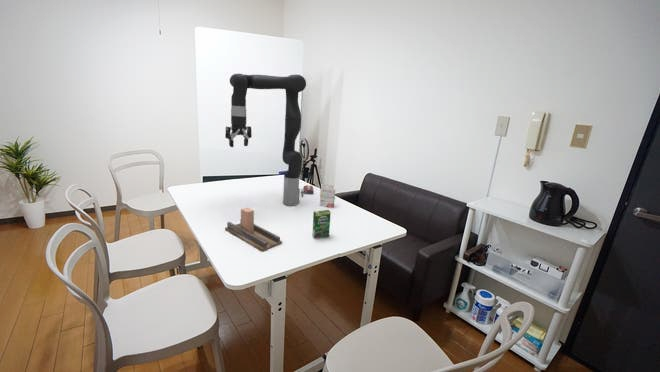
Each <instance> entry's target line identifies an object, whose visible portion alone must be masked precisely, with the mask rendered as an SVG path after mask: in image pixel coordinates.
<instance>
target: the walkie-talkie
mask: <svg viewBox="0 0 660 372" xmlns="http://www.w3.org/2000/svg"><path fill="white" fill-rule="evenodd" d="M300 194H301V197H304V195H313V194H314V186H313V185H307V184H306V185H304V186H303V188H301V189H300Z"/></svg>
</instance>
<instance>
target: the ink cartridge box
mask: <svg viewBox="0 0 660 372" xmlns="http://www.w3.org/2000/svg"><path fill="white" fill-rule="evenodd" d="M335 199H336V187H335V185H334V184H328V183H321V185H320V194H319V207H325V208H328V209H329V208H330V209H332V208H334V206H335V201H336V200H335Z"/></svg>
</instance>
